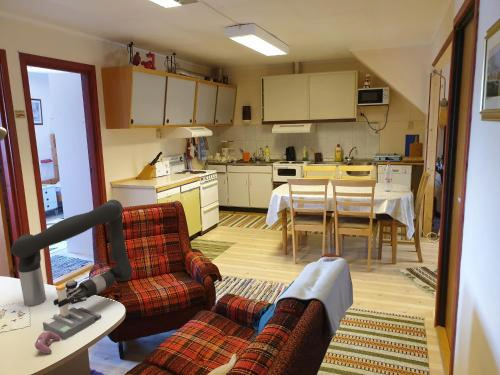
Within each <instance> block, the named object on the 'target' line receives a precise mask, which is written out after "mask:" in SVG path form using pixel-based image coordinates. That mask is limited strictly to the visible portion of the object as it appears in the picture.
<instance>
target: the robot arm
mask: <svg viewBox="0 0 500 375" xmlns="http://www.w3.org/2000/svg"><path fill="white" fill-rule="evenodd" d="M123 209H124V208H123V204H122V203H121V202H120V201H119V200H118V199H117V200H116V199H109V200H108V201H106V202H105V203H102V204H101V205H99V206H98V207H96V208H94V209H93V210H90V211H87V212H84V213H80V214H75V215H73V216H70V217H67V218H64V219H62V220H59V221H57V222H56V223H54V224H52V225H50V226H48V227H46V229H44V230H42V231H41V232H39V233H36V234H34V235H33V234H30V233H26V234H22V235H21V236H19V237H18V238H17V239H16V240H14V242H13V243H12V245H11V249H10V252H11V254H12V255H13V256H14V257H16V258H17V259H18V263H17V270H18V271H17V272H18V277H19V282H20V288H21V292H22V298H23V304H24V306H26V307H34V306H38V305H41V304H43V303H44V302H46V300H47V295H46V289H45V284H44V278H43V271H42V264H41V261H42V260H41V259H42V256H41V250H43V249H46V248H49V247H50V246H52V245H56V244H59V243H62V242H64V241H68V240H69V239H72V238H74V237H77V236H78V235H81V234H82V233H85V232H87V231H89V230H90V229H92V228H95V227H96V226H99V225H103V224H106V223H108V227H109V248H110V254H111V259H112V261H113V262H114V263H116V264H117V265H114V266H112V267H110V268H109V269H107V271H106V272H103V273H101V274H98V275H96V276H93V277H91V278H88V279H87V280H84V281H82V282H80V283H79V284H78V285H77V287H76V288H74V289H73V290H70V288H66V295H67V299H64V300H62V301H59V302H58V298H55V299H54V300H53V305H54V306H57V307H58V308H59V307H62V306H64V305H66V304H68V305H70V304H71V305H75V304H79V303H84V302H86V301H87V300H88V299H89V298H92V297H93V296H95V295H97V294H99V293H101V292H103V291H104V290H106V289H109V288H110V287H111V286H113V285H114V284H115V283H116V280H118V281H119V280H120V281H129V280H130V279H131V278H132V276H133V266H132V264H131V262H130V259H129V257H128V253H127V247H126V240H125V235H124V225H123V211H124V210H123Z"/></svg>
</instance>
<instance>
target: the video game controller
mask: <svg viewBox="0 0 500 375" xmlns="http://www.w3.org/2000/svg"><path fill="white" fill-rule="evenodd" d="M52 340H53V341H60V340H61V338H60V336H59V335H57V334H55V333H53V332H52V331H48V330H44V331H43V332H42V333H40V334H39V335H38V337H37V339H36V341H35V343H34V347H35V349H36V350H37V351H40V352H41V353H43V354H46V355H50V354H52V349H51V348H50V347H48V346H50V345H51V344H52Z"/></svg>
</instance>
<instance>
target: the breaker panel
mask: <svg viewBox="0 0 500 375" xmlns="http://www.w3.org/2000/svg"><path fill="white" fill-rule="evenodd" d="M52 316H53V317H51V318H49V319H47V320H45V321H43V322H42V328H43V330H44V331H47V330H48V331H52V332H53V333H55V334H57V335H59V336H60V339H62V340H64V341H65V340H67V339H68V338H70V337H72V336H73V335H75V334H77V333H79V332H81V331H83V330H84V329H86V328H88V327H89V326H91V325H93V324H95V323H96V321H95V318H94V316H93V315H90V314H88V313H86V312H83V311H81V310H79V308H76V307H74V306H72V307H71V308H69V316H70V317H69V318H67V319H66V318H64V317H62V316H61V315H60V313H59V314H58V313H55V314H53V315H52Z"/></svg>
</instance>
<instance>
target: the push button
mask: <svg viewBox="0 0 500 375" xmlns="http://www.w3.org/2000/svg"><path fill="white" fill-rule="evenodd" d="M64 285H65V286H66V289H67V288H70V290H73V289H75V288H78V285H79V284H78V281H76V280H75V279H70V280H68V281H67V282H66V283H65V284H64Z"/></svg>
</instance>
